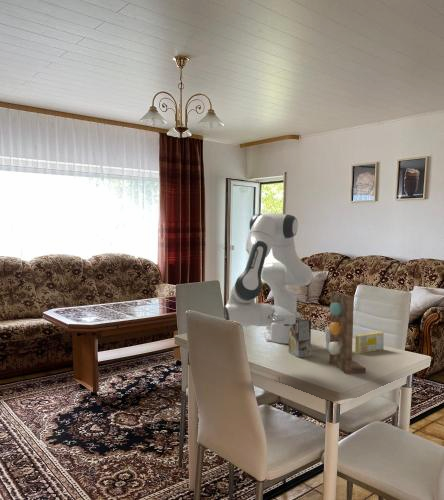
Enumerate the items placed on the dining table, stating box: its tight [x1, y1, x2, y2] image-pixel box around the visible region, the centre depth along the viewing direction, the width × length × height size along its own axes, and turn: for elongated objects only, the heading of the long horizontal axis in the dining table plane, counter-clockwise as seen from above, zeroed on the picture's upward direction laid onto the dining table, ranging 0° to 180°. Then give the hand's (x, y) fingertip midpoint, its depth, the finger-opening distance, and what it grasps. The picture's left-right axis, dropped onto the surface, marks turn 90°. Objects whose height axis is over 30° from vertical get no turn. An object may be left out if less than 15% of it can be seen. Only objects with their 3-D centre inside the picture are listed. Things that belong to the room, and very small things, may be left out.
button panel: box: [328, 290, 367, 375], centre depth 175 cm, size 16×8×30 cm, turn 10°
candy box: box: [354, 331, 385, 354], centre depth 201 cm, size 16×2×8 cm, turn 116°
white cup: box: [325, 326, 341, 351], centre depth 202 cm, size 8×8×10 cm
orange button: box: [328, 321, 342, 335], centre depth 174 cm, size 5×4×5 cm
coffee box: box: [288, 316, 312, 358], centre depth 193 cm, size 9×6×16 cm
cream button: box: [328, 342, 341, 355], centre depth 175 cm, size 5×4×5 cm
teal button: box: [329, 302, 343, 315], centre depth 174 cm, size 5×4×5 cm
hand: (298, 314), depth 171 cm, fingers closed
